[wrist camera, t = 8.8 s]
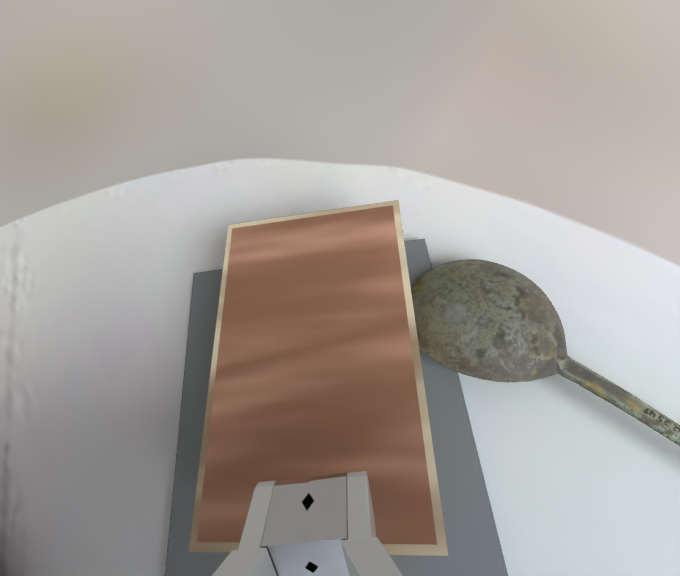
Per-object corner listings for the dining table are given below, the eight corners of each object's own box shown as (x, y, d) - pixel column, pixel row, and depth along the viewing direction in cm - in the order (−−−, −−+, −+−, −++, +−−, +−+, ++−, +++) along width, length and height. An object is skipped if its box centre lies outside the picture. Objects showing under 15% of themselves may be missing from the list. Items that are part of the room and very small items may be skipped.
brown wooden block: (448, 556, 10) (398, 199, 16) (187, 552, 11) (227, 224, 17) (436, 521, 14) (399, 242, 19) (240, 521, 15) (258, 259, 21)
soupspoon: (444, 250, 20) (381, 330, 19) (453, 219, 17) (379, 312, 16) (939, 535, 12) (895, 708, 11) (1120, 572, 9) (1091, 820, 8)
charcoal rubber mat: (532, 689, 12) (538, 699, 12) (159, 709, 13) (151, 719, 13) (423, 242, 20) (424, 238, 20) (197, 276, 21) (193, 273, 21)
